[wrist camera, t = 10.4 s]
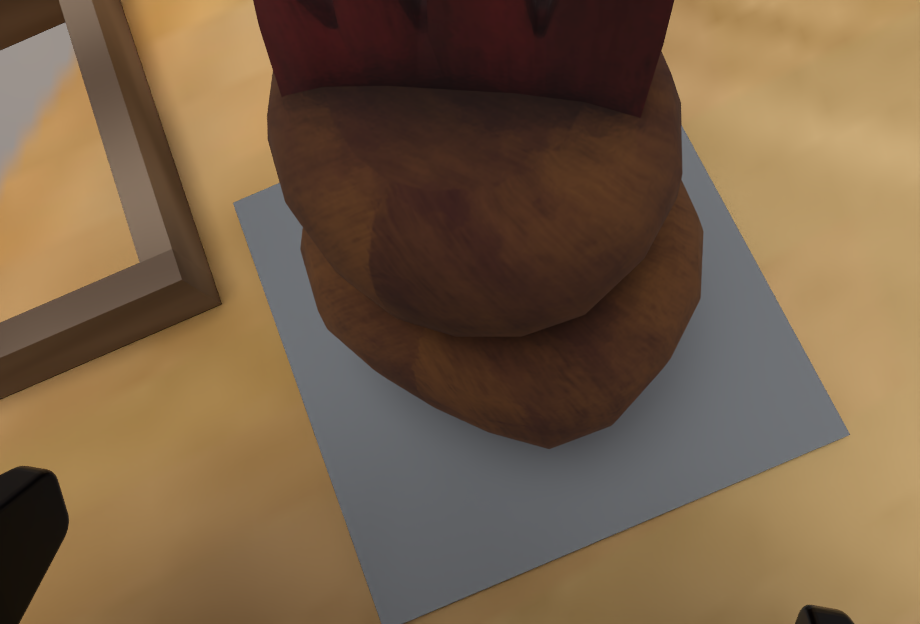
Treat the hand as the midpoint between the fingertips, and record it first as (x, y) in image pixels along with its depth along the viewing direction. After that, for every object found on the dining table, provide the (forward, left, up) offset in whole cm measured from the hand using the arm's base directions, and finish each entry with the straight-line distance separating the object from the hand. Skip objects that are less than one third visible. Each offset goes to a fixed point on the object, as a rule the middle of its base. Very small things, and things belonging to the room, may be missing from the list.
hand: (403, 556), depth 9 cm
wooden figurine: (+4, -3, -9) cm, 10 cm away
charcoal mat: (+4, -3, -9) cm, 10 cm away
